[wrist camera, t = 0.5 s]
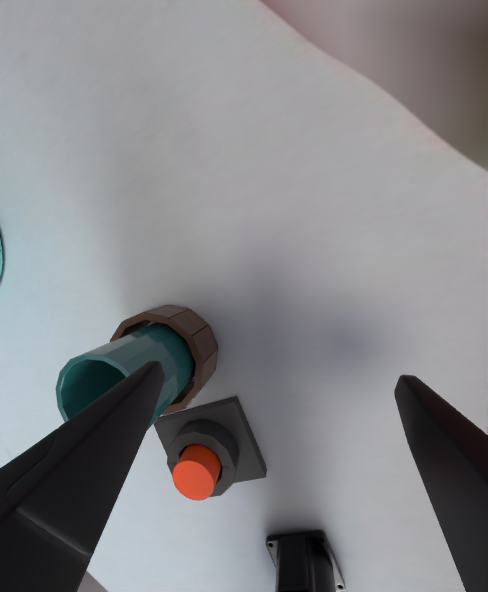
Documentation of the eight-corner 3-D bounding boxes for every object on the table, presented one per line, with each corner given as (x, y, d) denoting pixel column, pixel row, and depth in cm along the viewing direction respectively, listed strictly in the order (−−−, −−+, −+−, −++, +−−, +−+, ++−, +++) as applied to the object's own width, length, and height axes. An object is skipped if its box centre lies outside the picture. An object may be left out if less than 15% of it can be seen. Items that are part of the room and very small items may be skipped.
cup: (215, 369, 24) (162, 440, 14) (161, 386, 26) (81, 460, 16) (189, 309, 24) (118, 340, 14) (137, 330, 25) (40, 371, 16)
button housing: (236, 396, 24) (229, 414, 21) (267, 469, 24) (263, 497, 21) (158, 417, 26) (141, 436, 23) (186, 484, 27) (174, 510, 24)
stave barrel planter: (231, 377, 24) (218, 399, 20) (156, 399, 26) (132, 423, 22) (195, 292, 23) (176, 298, 19) (123, 322, 26) (92, 333, 22)
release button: (211, 439, 22) (203, 457, 20) (227, 476, 22) (220, 497, 21) (176, 447, 23) (165, 465, 21) (192, 483, 23) (182, 503, 21)
